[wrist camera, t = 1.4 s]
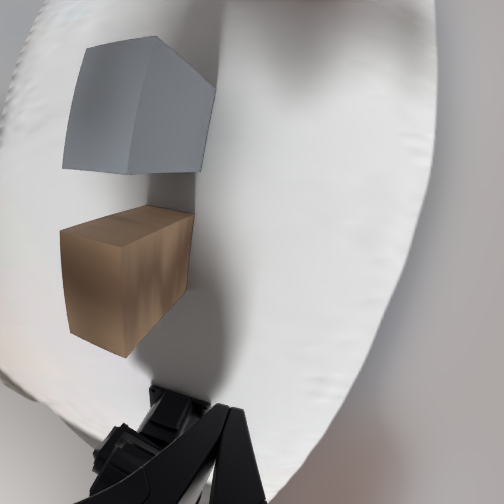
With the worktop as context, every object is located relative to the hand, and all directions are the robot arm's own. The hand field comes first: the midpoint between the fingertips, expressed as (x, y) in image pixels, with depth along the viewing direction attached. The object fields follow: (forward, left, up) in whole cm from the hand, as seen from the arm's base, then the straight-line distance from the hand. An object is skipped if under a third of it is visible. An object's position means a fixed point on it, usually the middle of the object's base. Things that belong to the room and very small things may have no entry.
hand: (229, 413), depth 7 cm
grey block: (+9, +8, -13) cm, 18 cm away
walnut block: (0, +8, -13) cm, 15 cm away
